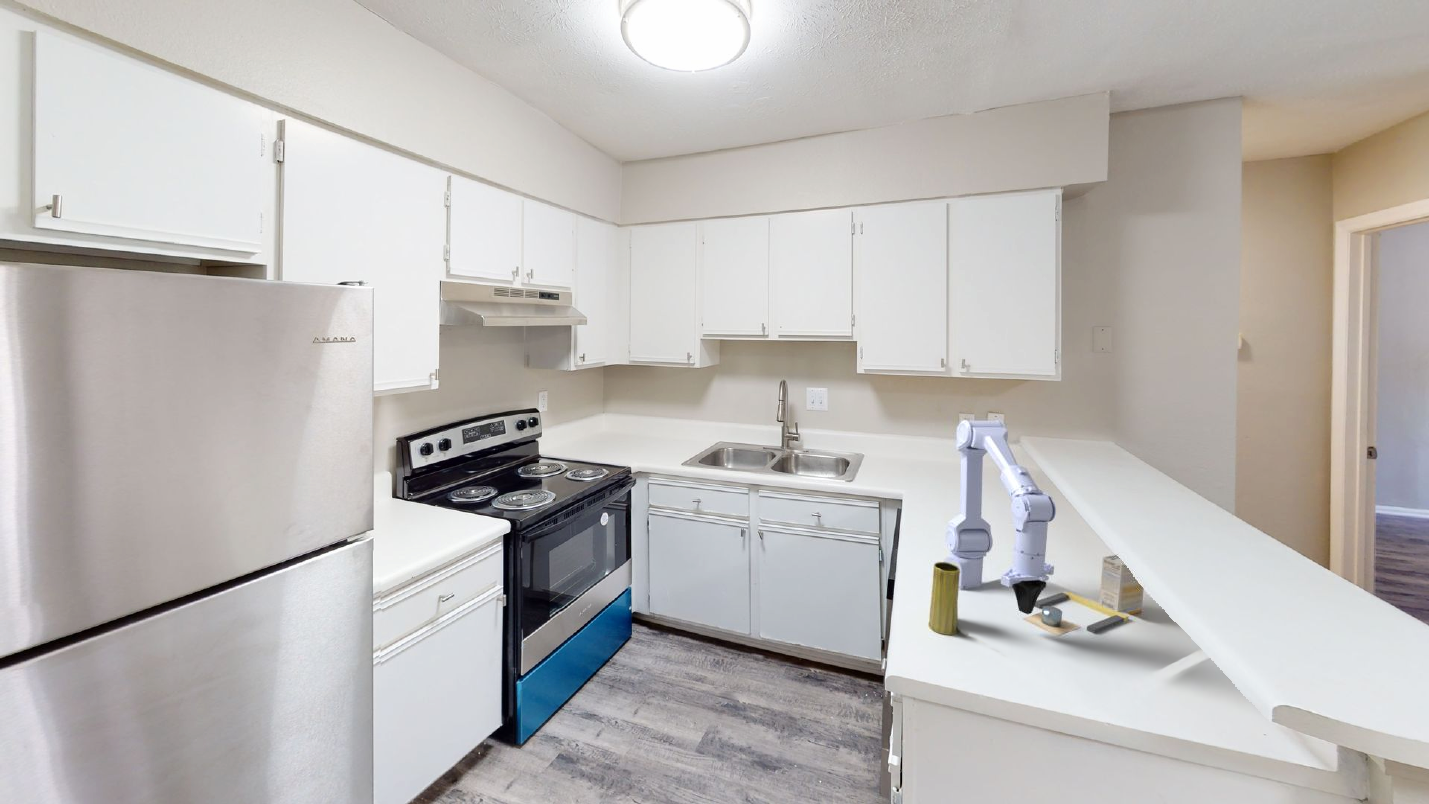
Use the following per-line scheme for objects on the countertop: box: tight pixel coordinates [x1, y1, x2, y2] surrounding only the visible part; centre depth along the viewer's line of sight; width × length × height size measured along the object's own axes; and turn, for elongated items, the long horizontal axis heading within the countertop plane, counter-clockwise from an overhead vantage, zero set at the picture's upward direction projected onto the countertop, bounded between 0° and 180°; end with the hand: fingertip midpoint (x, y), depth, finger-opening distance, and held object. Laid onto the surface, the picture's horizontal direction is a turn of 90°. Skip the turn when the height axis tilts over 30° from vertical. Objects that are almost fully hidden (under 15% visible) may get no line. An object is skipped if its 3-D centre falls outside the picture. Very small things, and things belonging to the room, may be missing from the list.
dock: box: [1034, 590, 1129, 634], centre depth 129 cm, size 13×14×2 cm
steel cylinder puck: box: [1041, 605, 1063, 627], centre depth 124 cm, size 4×4×3 cm
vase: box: [928, 561, 960, 636], centre depth 124 cm, size 6×6×14 cm
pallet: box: [1022, 611, 1081, 637], centre depth 125 cm, size 8×8×2 cm
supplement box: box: [1098, 554, 1145, 616], centre depth 132 cm, size 8×5×13 cm, turn 109°
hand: (1025, 611), depth 120 cm, fingers closed
